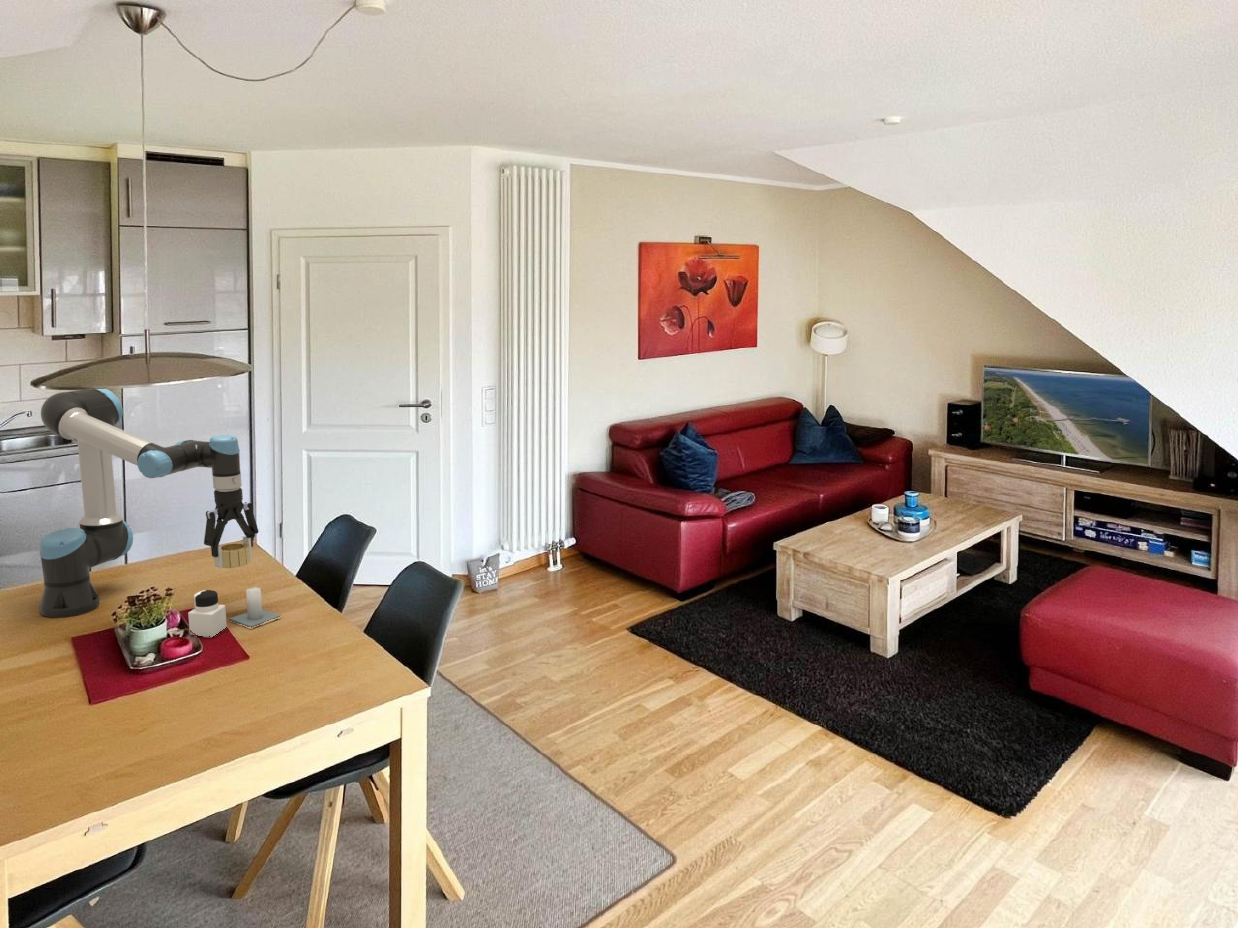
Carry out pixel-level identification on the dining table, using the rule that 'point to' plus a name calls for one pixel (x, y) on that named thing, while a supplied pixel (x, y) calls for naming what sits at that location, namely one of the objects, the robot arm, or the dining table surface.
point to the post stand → (254, 610)
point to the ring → (235, 555)
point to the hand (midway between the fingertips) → (233, 562)
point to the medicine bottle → (207, 614)
